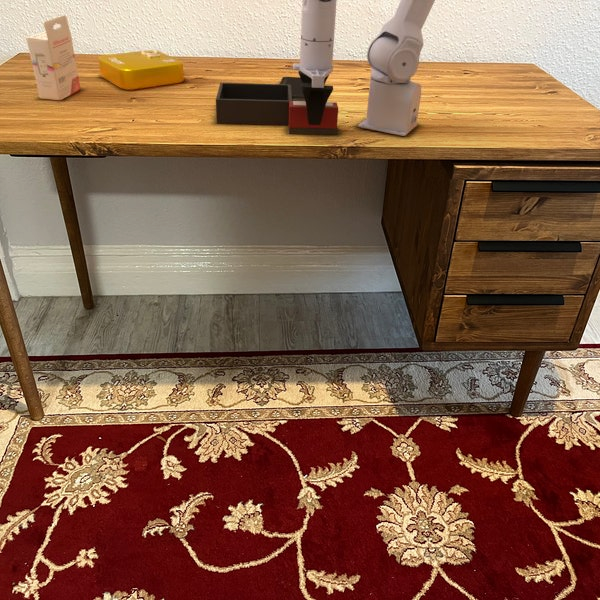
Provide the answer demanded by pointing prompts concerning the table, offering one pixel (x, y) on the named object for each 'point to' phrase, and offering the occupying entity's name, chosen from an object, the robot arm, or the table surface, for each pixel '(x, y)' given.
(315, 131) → the red and black box
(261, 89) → the bin
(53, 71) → the ink cartridge box
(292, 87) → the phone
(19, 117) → the table surface
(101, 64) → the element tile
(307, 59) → the robot arm
